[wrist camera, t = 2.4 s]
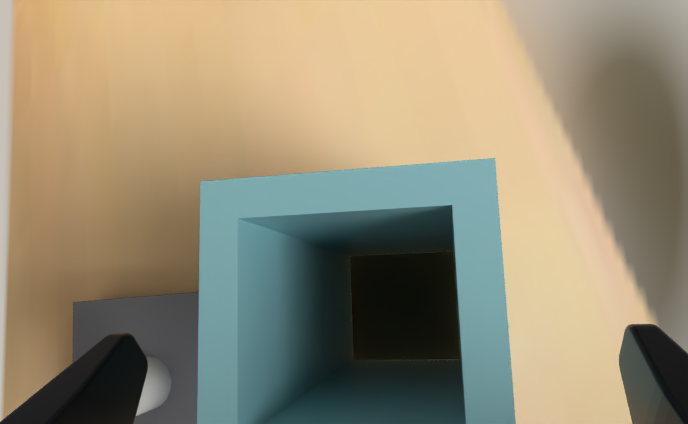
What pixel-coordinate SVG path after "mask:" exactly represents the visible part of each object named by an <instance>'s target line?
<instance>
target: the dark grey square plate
mask: <svg viewBox="0 0 688 424" xmlns="http://www.w3.org/2000/svg"><path fill="white" fill-rule="evenodd" d="M198 322H199V292H193V293H181V294H169V295H156V296H144V297H132V298H120V299H107V300H95V301H83V302H74V303H73V363H74V362H75V361H76V360H77V359H78V358H80V357H81V356H82V355H83V354H85V353H86V352H87V351H88V350H90V349H91V348H92V347H93V346H94V345H96V344H97V343H98V342H99V341H101V340H102V339H103V338H104V337H106V336H107V335H109V334H112V333H130V334H131V335H133V336H134V338H135V339H136V341H137V343H138V344H139V346H140V348H141V349H142V351H143V352H144V354H145V356H146V358H147V361H148V371H147V375H146V379H145V383H144V387H143V390H142V394H141V398H140V402H139V406H138V409H137V413H136V417H135V421H134V424H197V399H198Z"/></svg>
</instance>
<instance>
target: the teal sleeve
mask: <svg viewBox="0 0 688 424" xmlns="http://www.w3.org/2000/svg"><path fill="white" fill-rule="evenodd" d="M431 252H453V260H454V276H455V292H456V307H457V323H458V339H459V355H460V360H354V359H353V328H352V297H351V266H350V256H365V255H387V254H409V253H431ZM197 424H516V423H515V410H514V397H513V384H512V371H511V359H510V346H509V333H508V320H507V307H506V295H505V282H504V269H503V256H502V243H501V230H500V218H499V205H498V192H497V179H496V166H495V158H490V159H478V160H465V161H452V162H439V163H427V164H414V165H401V166H389V167H376V168H363V169H351V170H338V171H325V172H313V173H300V174H287V175H275V176H262V177H249V178H237V179H224V180H211V181H200V245H199V322H198V399H197Z"/></svg>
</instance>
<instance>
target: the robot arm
mask: <svg viewBox="0 0 688 424" xmlns="http://www.w3.org/2000/svg"><path fill="white" fill-rule="evenodd" d="M619 366H620V372H621V376H622V380H623V385H624V389H625V393H626V397H627V402H628V406H629V410H630V415H631V419H632V423H633V424H688V353H687V352H686V351H684V350H683V349H682V348H681V347H680V346H679V345H678V344H677V343H676V342H675V341H673V340H672V339H671V338H670V337H669V336H668V335H667V334H666V333H665V332H664V331H662V330H661V329H660V328H659V327H657V326H656V325H653V324H631V325H628V326H627V327H626V329H625V332H624V337H623V341H622V346H621V350H620V355H619ZM147 371H148V361H147V358H146V356H145V354H144V352H143V351H142V349H141V348H140V346H139V344H138V343H137V341H136V339H135V338H134V336H133V335H131V334H130V333H112V334H109V335H107V336H106V337H104V338H103V339H102V340H101V341H99V342H98V343H97V344H96V345H94V346H93V347H92V348H91V349H90V350H88V351H87V352H86V353H85V354H83V355H82V356H81V357H80V358H78V359H77V360H76V361H75V362H74V363H72V364H71V365H70V366H69V367H67V368H66V369H65V370H64V371H62V372H61V373H60V374H59V375H58V376H56V377H55V378H54V379H53V380H51V381H50V382H49V383H48V384H46V385H45V386H44V387H43V388H42V389H40V390H39V391H38V392H37V393H35V394H34V395H33V396H32V397H30V398H29V399H28V400H27V401H26V402H24V403H23V404H22V405H21V406H19V407H18V408H17V409H16V410H14V411H13V412H12V413H11V414H9V415H8V416H7V417H6V418H5V419H3V420H2V421H1V422H0V424H134V421H135V417H136V413H137V409H138V406H139V402H140V398H141V394H142V390H143V387H144V383H145V379H146V375H147Z"/></svg>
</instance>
